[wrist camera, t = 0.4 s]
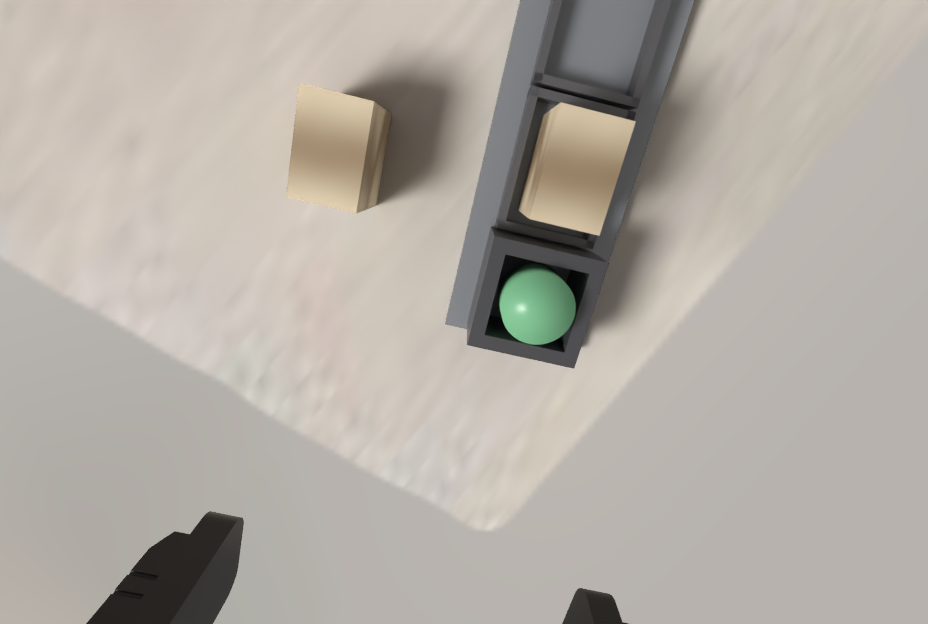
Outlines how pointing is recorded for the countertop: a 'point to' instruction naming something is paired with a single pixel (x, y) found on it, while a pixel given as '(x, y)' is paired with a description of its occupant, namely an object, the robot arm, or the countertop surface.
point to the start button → (536, 304)
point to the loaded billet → (575, 167)
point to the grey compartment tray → (513, 140)
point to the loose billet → (337, 149)
